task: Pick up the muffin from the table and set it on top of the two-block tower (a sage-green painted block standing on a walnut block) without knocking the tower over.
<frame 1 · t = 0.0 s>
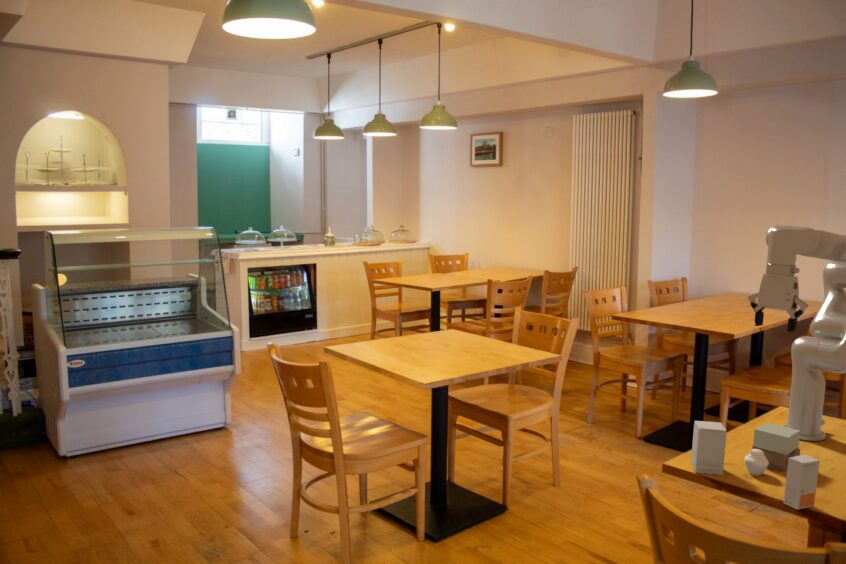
hand: (774, 328, 213), 37 cm above the table, tool pointing down, fingers open, 9 cm apart
muffin: (755, 474, 199), on the table
bottom block: (774, 464, 207), on the table, touching top block
top block: (775, 446, 207), point 5 cm above the table, touching bottom block
skincare box: (798, 505, 180), on the table
supplement box: (706, 470, 201), on the table
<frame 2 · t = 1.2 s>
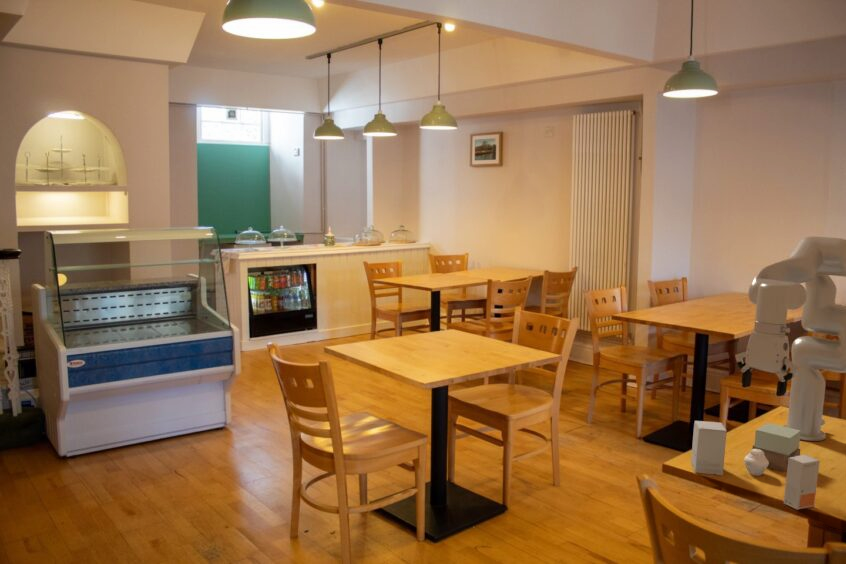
hand: (762, 391, 198), 23 cm above the table, tool pointing down, fingers open, 9 cm apart
nothing on the table moved.
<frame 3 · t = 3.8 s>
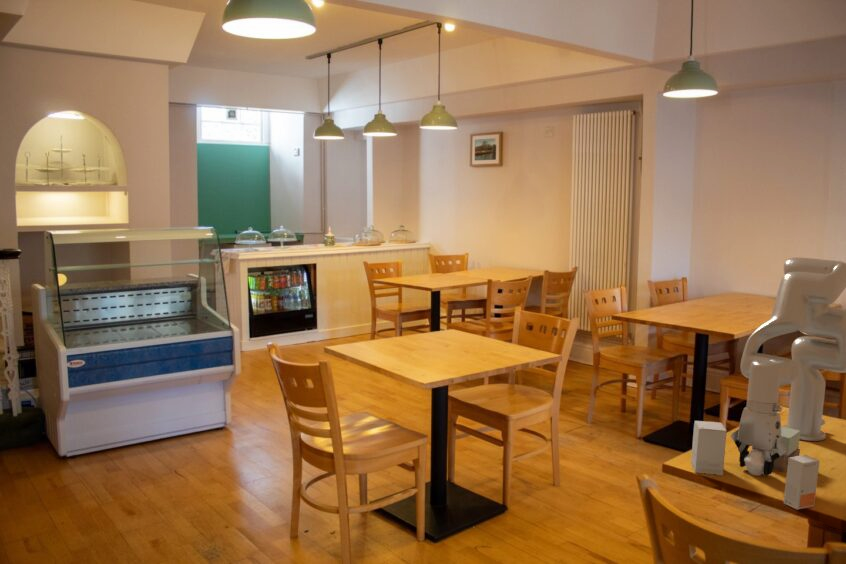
hand: (755, 469, 199), 1 cm above the table, tool pointing down, fingers closed on muffin, 6 cm apart
muffin: (755, 474, 199), on the table, touching gripper
everything else where it was.
when the fingers open (12 cm above the table, at t = 8.1 s): muffin drops 1 cm, resting on top block.
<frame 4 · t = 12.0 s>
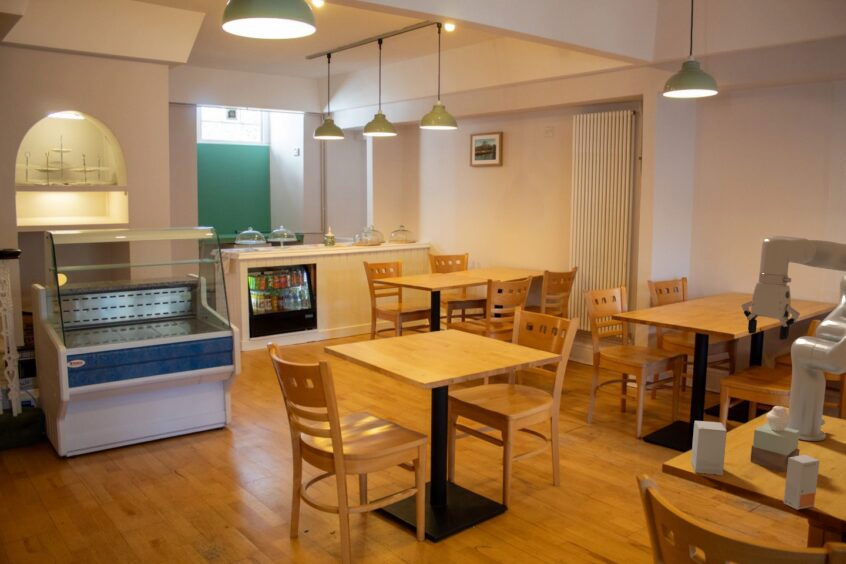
hand: (767, 336, 219), 33 cm above the table, tool pointing down, fingers open, 9 cm apart
muffin: (776, 430, 206), point 10 cm above the table, touching top block
top block: (775, 447, 206), point 5 cm above the table, touching bottom block, muffin
everything else where it was.
at the end: muffin 0.2 cm off-centre on the top block, point 5.2 cm above the top block's base; top block 0.1 cm off-centre on the bottom block, point 5.0 cm above the bottom block's base; top block tilted 0° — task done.
